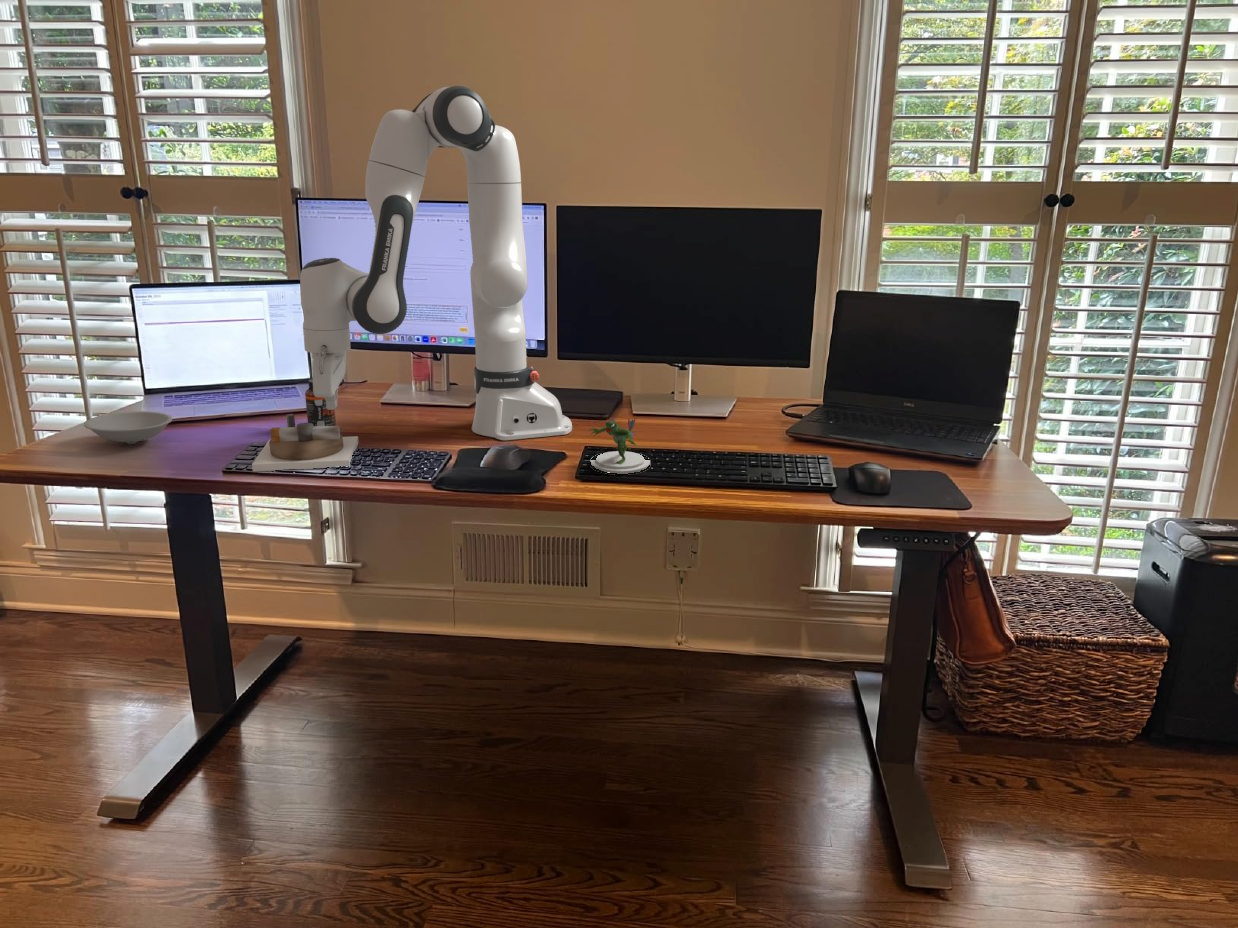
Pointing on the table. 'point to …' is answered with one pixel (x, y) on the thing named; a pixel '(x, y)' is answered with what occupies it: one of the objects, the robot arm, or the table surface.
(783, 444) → the table surface
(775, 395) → the table surface
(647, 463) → the monster figurine
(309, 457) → the dial
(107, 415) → the dish
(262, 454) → the dial base
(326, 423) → the supplement bottle
